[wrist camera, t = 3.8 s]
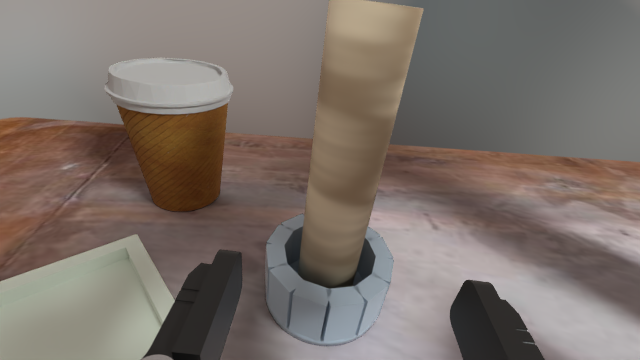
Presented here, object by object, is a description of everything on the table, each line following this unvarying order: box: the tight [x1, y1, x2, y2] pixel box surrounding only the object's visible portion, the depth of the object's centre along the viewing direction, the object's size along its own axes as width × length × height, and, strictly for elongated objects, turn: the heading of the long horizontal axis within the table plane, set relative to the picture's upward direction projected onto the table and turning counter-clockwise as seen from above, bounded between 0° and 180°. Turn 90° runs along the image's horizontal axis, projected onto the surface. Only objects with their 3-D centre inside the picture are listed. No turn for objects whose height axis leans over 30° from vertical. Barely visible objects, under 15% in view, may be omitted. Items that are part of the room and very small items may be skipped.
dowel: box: [298, 0, 423, 289], centre depth 18 cm, size 4×4×18 cm
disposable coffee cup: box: [105, 58, 233, 211], centre depth 28 cm, size 10×10×12 cm
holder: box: [265, 214, 394, 346], centre depth 22 cm, size 8×8×4 cm
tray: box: [0, 234, 175, 360], centre depth 16 cm, size 12×12×2 cm
